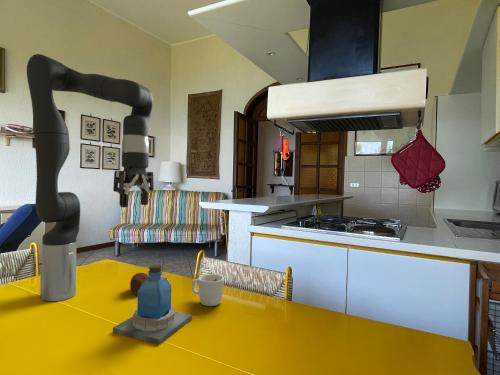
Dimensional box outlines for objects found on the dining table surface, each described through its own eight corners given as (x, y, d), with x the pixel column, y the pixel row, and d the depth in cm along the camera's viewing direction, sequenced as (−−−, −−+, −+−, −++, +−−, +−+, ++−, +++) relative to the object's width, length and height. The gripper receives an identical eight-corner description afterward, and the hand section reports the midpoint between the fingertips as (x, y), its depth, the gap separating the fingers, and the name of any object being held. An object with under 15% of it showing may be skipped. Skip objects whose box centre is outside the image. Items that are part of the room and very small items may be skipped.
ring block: (112, 332, 77) (113, 318, 77) (150, 310, 90) (150, 298, 90) (159, 344, 72) (159, 329, 72) (191, 319, 85) (192, 306, 85)
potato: (123, 295, 101) (123, 276, 101) (136, 286, 110) (137, 268, 110) (143, 297, 100) (144, 277, 100) (155, 287, 109) (155, 269, 109)
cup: (184, 304, 95) (185, 278, 95) (198, 295, 103) (198, 271, 102) (215, 310, 91) (216, 283, 91) (227, 300, 99) (228, 275, 98)
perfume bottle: (159, 318, 77) (160, 270, 77) (137, 315, 79) (137, 268, 78) (170, 308, 83) (171, 264, 83) (149, 305, 85) (150, 262, 84)
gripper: (141, 153, 100) (140, 203, 101) (106, 149, 87) (106, 207, 87) (160, 153, 97) (159, 205, 98) (127, 149, 84) (127, 208, 85)
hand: (134, 206), depth 93 cm, fingers open, 8 cm apart
